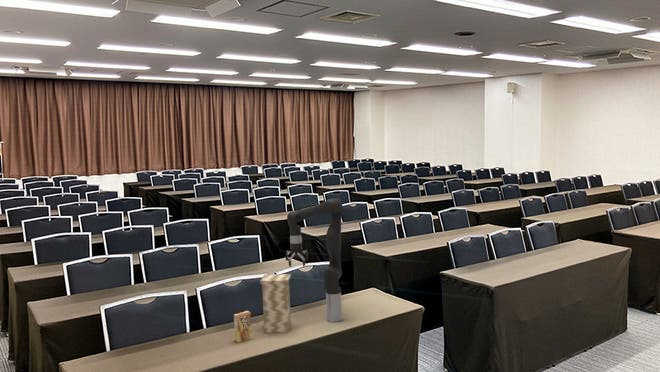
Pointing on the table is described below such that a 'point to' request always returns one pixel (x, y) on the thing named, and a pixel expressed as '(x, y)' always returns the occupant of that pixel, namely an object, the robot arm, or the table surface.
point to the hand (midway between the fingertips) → (297, 266)
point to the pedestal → (276, 303)
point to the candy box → (242, 326)
